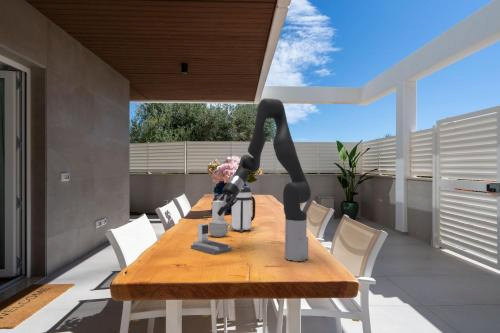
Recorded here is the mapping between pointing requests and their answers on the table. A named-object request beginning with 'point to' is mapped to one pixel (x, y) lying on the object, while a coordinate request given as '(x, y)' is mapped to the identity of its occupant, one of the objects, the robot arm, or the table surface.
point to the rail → (208, 242)
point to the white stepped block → (215, 208)
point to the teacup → (219, 229)
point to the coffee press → (243, 210)
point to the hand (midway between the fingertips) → (215, 214)
